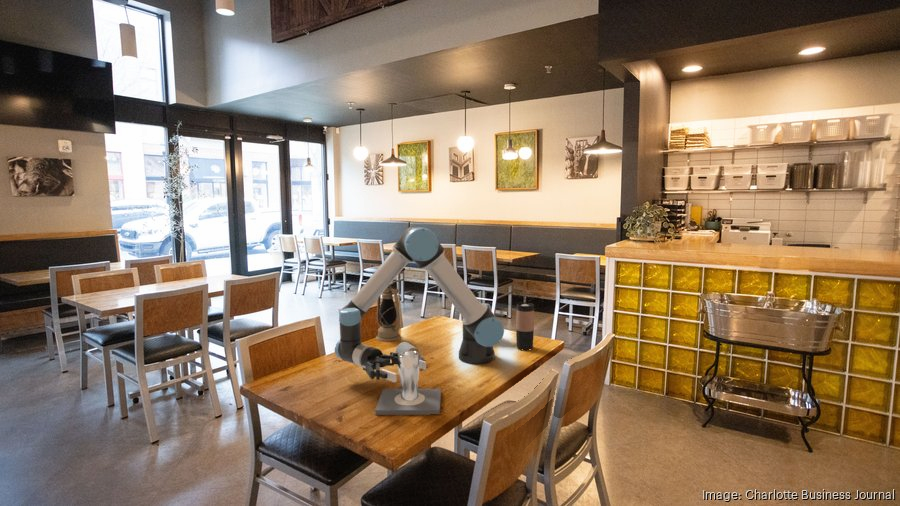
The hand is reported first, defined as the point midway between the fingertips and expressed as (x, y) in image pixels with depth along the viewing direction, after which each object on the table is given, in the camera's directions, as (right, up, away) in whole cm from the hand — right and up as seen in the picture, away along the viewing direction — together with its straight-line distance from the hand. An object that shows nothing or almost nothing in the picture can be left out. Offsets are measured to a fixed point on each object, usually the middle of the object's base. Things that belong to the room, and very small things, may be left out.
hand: (411, 371), depth 150 cm
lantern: (-17, -2, +73) cm, 75 cm away
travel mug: (+46, -4, +56) cm, 73 cm away
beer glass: (-1, -9, +2) cm, 10 cm away
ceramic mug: (-4, -6, +41) cm, 42 cm away
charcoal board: (-1, -11, +2) cm, 11 cm away
